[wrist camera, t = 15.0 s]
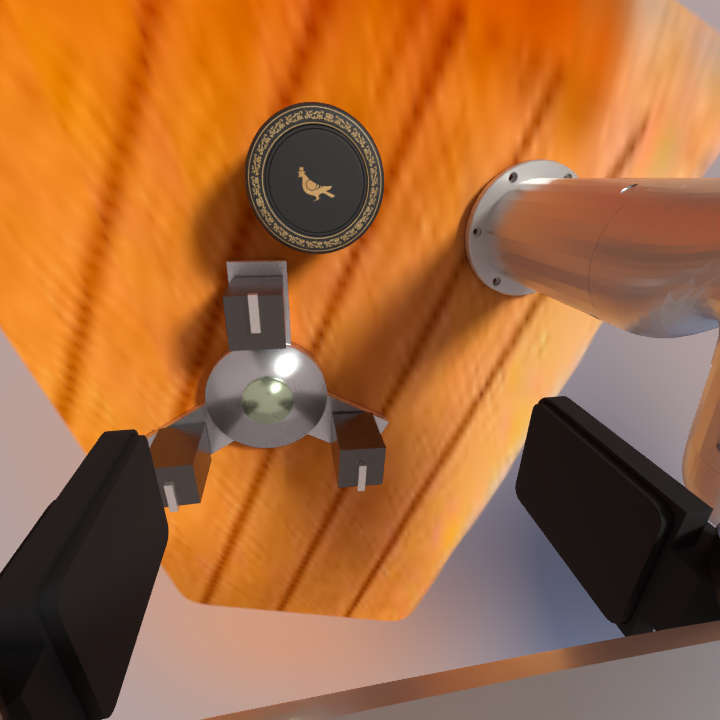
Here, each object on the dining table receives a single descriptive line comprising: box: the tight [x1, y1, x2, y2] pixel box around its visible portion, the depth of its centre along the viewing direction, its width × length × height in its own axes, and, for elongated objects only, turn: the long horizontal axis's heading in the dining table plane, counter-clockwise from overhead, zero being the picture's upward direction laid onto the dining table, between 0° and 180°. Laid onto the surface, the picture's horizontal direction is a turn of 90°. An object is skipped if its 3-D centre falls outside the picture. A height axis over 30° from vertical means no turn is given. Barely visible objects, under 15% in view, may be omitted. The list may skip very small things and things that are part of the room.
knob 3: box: [331, 412, 386, 491], centre depth 41 cm, size 5×4×7 cm
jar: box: [245, 102, 384, 254], centre depth 31 cm, size 10×10×8 cm
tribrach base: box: [146, 259, 389, 454], centre depth 40 cm, size 26×22×3 cm
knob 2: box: [223, 277, 286, 351], centre depth 34 cm, size 5×4×7 cm
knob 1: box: [150, 425, 211, 512], centre depth 38 cm, size 5×4×7 cm
